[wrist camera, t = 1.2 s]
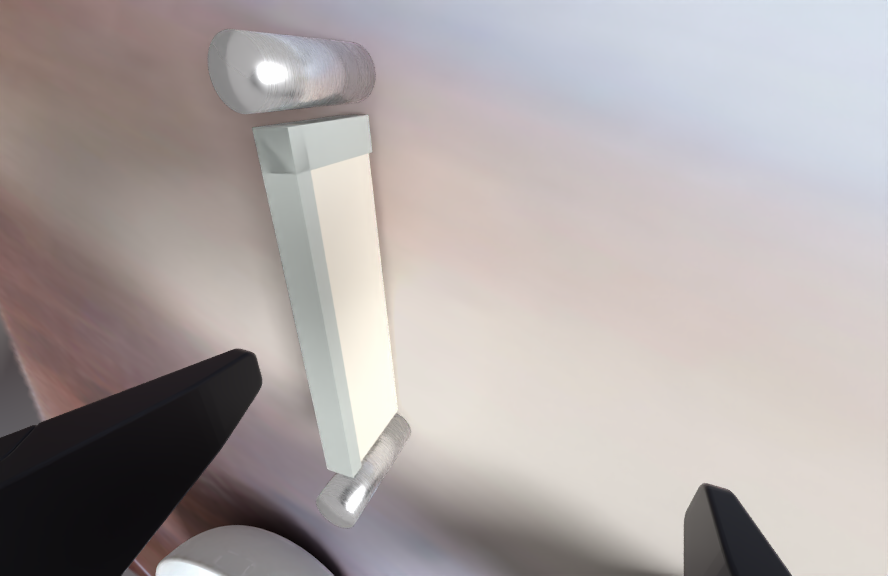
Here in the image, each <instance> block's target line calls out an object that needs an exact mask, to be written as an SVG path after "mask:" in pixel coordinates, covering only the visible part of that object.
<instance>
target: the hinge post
mask: <svg viewBox="0 0 888 576" xmlns="http://www.w3.org/2000/svg"><path fill="white" fill-rule="evenodd" d="M410 435H411V429H410V427H409V425H408V423H407V422H406V421H405V419H403V418H402V417H401V416H400V415H398V414H395V415H394V416H393V418H392V419H391V420H390V422H389V423H388V425H387V426H386V427H385V429H384V430H383V432H382V433H381V434H380V436H379V437H378V439H377V440H376V441H375V443H374V444H373V446H372V447H371V448H370V450H369V451H368V453H367V454H366V455H365V457H364V458H363V460H362V461H361V468H360V469H359V471H358V472H357V474H356V475H355V476H354V478H351V477H348V476H345V475H342V474H340V473H337V472H336V473H335V475H334V476H333V477H332V479H331V480H330V481H329V483H328V484H327V485H326V487H325V488H324V489H323V491H322V492H321V493H320V494H319V496H318V497H317V499H316V505H317V507H318V509H319V511H320V513H321V514H322V515H323V516H324V517H325V518H326V519H327V520H328V521H329V522H331V523H332V524H334V525H336V526H338V527H341V528H346V529H348V528H352V527H353V526H354V525H355V523H356V521H357V520H358V518H359V517H360V515H361V513H362V512H363V510H364V509H365V507H366V506H367V504H368V502H369V501H370V499H371V498H372V496H373V494H374V493H375V491H376V490H377V488H378V487H379V485H380V483H381V482H382V480H383V479H384V477H385V475H386V474H387V472H388V471H389V469H390V468H391V466H392V464H393V463H394V461H395V460H396V458H397V456H398V455H399V453H400V452H401V450H402V449H403V447H404V445H405V444H406V442H407V441H408V439H409V437H410Z"/></svg>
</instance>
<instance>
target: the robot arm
mask: <svg viewBox="0 0 888 576" xmlns="http://www.w3.org/2000/svg"><path fill="white" fill-rule="evenodd" d="M261 386H262V376H261V372H260V369H259V365H258V361H257V358H256V355H255V354H254V353H252V352H250V351H246V350H243V349H233V350H230V351H228V352H225V353H223V354H220V355H217V356H215V357H212V358H209V359H207V360H204V361H201V362H199V363H196V364H194V365H191V366H188V367H186V368H183V369H180V370H178V371H175V372H172V373H170V374H167V375H165V376H162V377H159V378H157V379H154V380H151V381H149V382H146V383H143V384H141V385H138V386H136V387H133V388H130V389H128V390H125V391H122V392H120V393H117V394H114V395H112V396H109V397H107V398H104V399H101V400H99V401H96V402H93V403H91V404H88V405H85V406H83V407H80V408H78V409H75V410H72V411H70V412H67V413H64V414H62V415H59V416H56V417H54V418H51V419H49V420H46V421H43V422H41V423H39V424H38V425H32V426H30V427H27V428H25V429H22V430H20V431H17V432H14V433H12V434H9V435H6V436H4V437H1V438H0V576H122V575H123V573H124V572H125V571H126V569H127V568H128V567H129V566H130V564H131V563H132V562H133V561H134V559H135V558H136V557H137V555H138V554H139V553H140V552H141V550H142V549H143V548H144V547H145V545H146V544H147V543H148V542H149V540H150V539H151V538H152V536H153V535H154V534H155V533H156V531H157V530H158V529H159V528H160V526H161V525H162V524H163V522H164V521H165V520H166V519H167V517H168V516H169V515H170V514H171V512H172V511H173V510H174V509H175V507H176V506H177V505H178V503H179V502H180V501H181V500H182V498H183V497H184V496H185V495H186V493H187V492H188V491H189V489H190V488H191V487H192V486H193V484H194V483H195V482H196V481H197V479H198V478H199V477H200V476H201V474H202V473H203V472H204V470H205V469H206V468H207V467H208V465H209V464H210V463H211V462H212V460H213V459H214V458H215V456H216V455H217V454H218V452H219V451H220V450H221V448H222V447H223V445H224V444H225V443H226V441H227V440H228V438H229V437H230V435H231V434H232V432H233V430H234V429H235V427H236V426H237V424H238V423H239V421H240V420H241V418H242V417H243V415H244V414H245V412H246V411H247V409H248V407H249V406H250V404H251V403H252V401H253V400H254V398H255V397H256V395H257V394H258V392H259V390H260V388H261ZM684 576H792V575H791V573H790V572H789V571H788V569H787V568H786V566H785V565H784V563H783V562H782V561H781V559H780V558H779V556H778V555H777V554H776V552H775V551H774V549H773V548H772V547H771V545H770V544H769V542H768V541H767V540H766V538H765V537H764V535H763V534H762V532H761V531H760V530H759V528H758V527H757V525H756V524H755V523H754V521H753V520H752V518H751V517H750V516H749V514H748V513H747V511H746V510H745V509H744V507H743V506H742V504H741V503H740V501H739V500H738V499H737V497H736V496H735V495H734V494H733V493H732V492H731V491H730V490H728V489H725V488H722V487H718V486H715V485H711V484H708V483H704V484H702V485H700V487H699V488H698V490H697V492H696V494H695V496H694V497H693V499H692V501H691V503H690V505H689V507H688V509H687V511H686V514H685V518H684Z"/></svg>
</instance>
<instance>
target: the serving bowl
mask: <svg viewBox="0 0 888 576" xmlns="http://www.w3.org/2000/svg"><path fill="white" fill-rule="evenodd" d="M156 576H334V575H333V574H332V573H331V572H330V571H329V570H328V569H327V568H326V567H325V566H324V565H323V564H322V563H321V562H320V561H318V560H317V559H316V558H315V557H314V556H312V555H311V554H310V553H308V552H307V551H306V550H304V549H303V548H301V547H300V546H298V545H297V544H295V543H293V542H292V541H290V540H288V539H286V538H284V537H282V536H280V535H278V534H275V533H273V532H270V531H267V530H264V529H261V528H257V527H252V526H245V525H229V526H222V527H217V528H213V529H210V530H207V531H205V532H202V533H200V534H198V535H196V536H194V537H192V538H190V539H189V540H187V541H186V542H184V543H183V544H181V545H180V546H179V547H177V548H176V549H175V550H174V551H172V552H171V553H170V554H169V555H167V556H166V557H165V558H164V559H163V560H162V561H161V562H160V563H159V564H158V566H157V569H156Z"/></svg>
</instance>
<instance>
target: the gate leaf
mask: <svg viewBox="0 0 888 576" xmlns="http://www.w3.org/2000/svg"><path fill="white" fill-rule="evenodd" d="M252 130H253V135H254V139H255V144H256V148H257V153H258V157H259V162H260V166H261V171H262V175H263V180H264V184H265V189H266V193H267V198H268V203H269V207H270V212H271V216H272V221H273V225H274V230H275V234H276V239H277V243H278V248H279V252H280V257H281V261H282V266H283V270H284V275H285V279H286V284H287V288H288V293H289V298H290V302H291V307H292V311H293V316H294V320H295V325H296V329H297V334H298V338H299V343H300V347H301V352H302V356H303V361H304V365H305V370H306V374H307V379H308V383H309V388H310V392H311V397H312V402H313V406H314V411H315V415H316V420H317V424H318V429H319V433H320V438H321V442H322V447H323V451H324V456H325V460H326V465H327V469H328V470H331V471H334V472H337V473H340V474H342V475H345V476H348V477H351V478H354V476H355V475H356V474H357V472H358V471H359V469H360V468H361V461H362V460H363V458H364V457H365V455H366V454H367V453H368V451H369V450H370V448H371V447H372V446H373V444H374V443H375V441H376V440H377V439H378V437H379V436H380V434H381V433H382V432H383V430H384V429H385V427H386V426H387V425H388V423H389V422H390V420H391V419H392V418H393V416H394V415H395V414H396V412H397V411H398V407H397V399H396V390H395V381H394V372H393V363H392V354H391V346H390V337H389V328H388V319H387V310H386V301H385V293H384V284H383V275H382V266H381V257H380V248H379V240H378V231H377V222H376V213H375V204H374V195H373V186H372V178H371V169H370V160H369V153H371V152H372V144H371V135H370V126H369V117H368V115H338V116H331V117H323V118H316V119H309V120H302V121H295V122H288V123H281V124H274V125H267V126H260V127H253V128H252Z"/></svg>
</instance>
